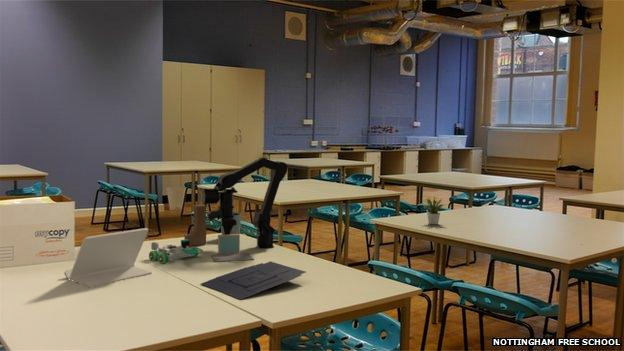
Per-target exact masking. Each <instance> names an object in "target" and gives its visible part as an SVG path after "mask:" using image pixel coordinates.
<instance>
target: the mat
mask: <svg viewBox="0 0 624 351" xmlns="http://www.w3.org/2000/svg"><path fill="white" fill-rule="evenodd" d="M210 256H211V258H212V260H213V262H214V263H223V262H240V261H241V262H243V261H254V260H255V258H253V256H252V255H251V254H250V253H249V252H240V253H233V254H211V255H210Z"/></svg>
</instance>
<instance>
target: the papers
mask: <svg viewBox="0 0 624 351" xmlns="http://www.w3.org/2000/svg"><path fill="white" fill-rule="evenodd" d="M305 273H307V271H305V270H302V269H297V268H295V267H291V266H287V265H284V264H281V263H277V262H274V261H271V260H270V261H268V262H265V263H264V262H263V263H262V262H261V263H258V264H253V265H250V266H246V267H243V268H240V269H237V270H234V271H231V272H229V273H225V274H222V275H218V276H216V277H213V278H212V279H209V280H207V281H204V282H202V283H200V285H202V286H206V287H208V288H211V289H214V290H217V291H220V292H222V293H224V294H227V295H229V296H231V297H233V298H236V299H238V300H243V299H245V298H248V297H251V296H254V295H256V294H258V293H259V292H260V293H261V292H262V291H263V292H264V291H266V290H268V289H270V288H273V287H275V286H276V287H277V286H279V285H281V284H284V283H286V282H290V281H293V280H296V278H298V277H302V276H303V274H305Z"/></svg>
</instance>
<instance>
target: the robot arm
mask: <svg viewBox="0 0 624 351" xmlns="http://www.w3.org/2000/svg"><path fill="white" fill-rule="evenodd" d="M262 168H266V169H268V170H269V183H268V185H267V189H266V192H265V195H264V198H263V202H262V204H261V208H260V210H258V212H257V211H255V212H254V214H253V219H251V220H252V225H253V227H254V228H255V229H256V231H257V235H256V246H257V247H258V248H259V249H265V248H267V249H269V248H274V247H275V246H274V234H275V231H276V230H275V228H273V226H271V219H272V218H271V213H272V209H273V205H274V202H275V200H276V199H275V198H276V196H277V193H278V189H279V187H280V183H281V182H282V181H283V179H284V178H285V176H286V175H287V173H288V170H289V167H288V164H287V163H285V162H284V161H278V160H277V161H274V160H272V159H267V158H266V157H258V158H257V159H256V160H254V161H251V162H249V163H247V164H246V165H244V166H242V167H240V168H238V169H237V170H234V171H228V172H226V173H223V174H220V175H219V177H218V181H217V183H216V184H215V185H214V187H213V188H207V187H206V188H203V191H202V193H201V194H202V195H201V202H202V205H216V204H218V202H219V205H217V206H218V208H216V209H213V210H211V211H208V212H206V218H207V219H208V221H209V222H212V221H214V220H217V221H218V224H219V225H220V227H221V226H222V227H223V231H224V235H226V234H230V232H231V230H232V228H233V226H234V225H237V221H236V220H235V219H234V215H233V212H234V208H235V206H234V194H237V193H238V190H236V188H235V187H234V186H235V185H237V184H238V183H239V181H241V180H242V179H244V178H246V177H247V176H250V175H252V174H253V173H255V172H256V171H258V170H260V169H262Z"/></svg>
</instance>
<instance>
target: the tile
mask: <svg viewBox="0 0 624 351" xmlns="http://www.w3.org/2000/svg"><path fill="white" fill-rule="evenodd" d="M240 237H241V234H240V235H239V234H226V235H222V234H217V255H219V254H237V253H241V252H240V251H241V250H240V247H241V246H240V244H241V242H240V239H241V238H240Z"/></svg>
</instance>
